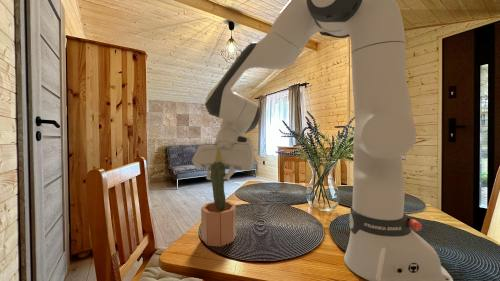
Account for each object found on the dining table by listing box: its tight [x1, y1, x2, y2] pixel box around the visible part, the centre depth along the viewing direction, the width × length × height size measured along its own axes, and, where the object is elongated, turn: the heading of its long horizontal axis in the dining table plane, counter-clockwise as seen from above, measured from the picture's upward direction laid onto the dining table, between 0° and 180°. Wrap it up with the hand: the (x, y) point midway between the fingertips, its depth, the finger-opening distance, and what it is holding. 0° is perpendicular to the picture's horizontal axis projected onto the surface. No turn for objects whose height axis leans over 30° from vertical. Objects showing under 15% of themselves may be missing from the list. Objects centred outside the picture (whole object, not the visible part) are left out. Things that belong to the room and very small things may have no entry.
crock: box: [200, 200, 237, 248], centre depth 73 cm, size 10×10×10 cm
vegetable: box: [210, 149, 226, 212], centre depth 71 cm, size 4×4×20 cm
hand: (217, 179), depth 71 cm, fingers closed on vegetable, 4 cm apart
